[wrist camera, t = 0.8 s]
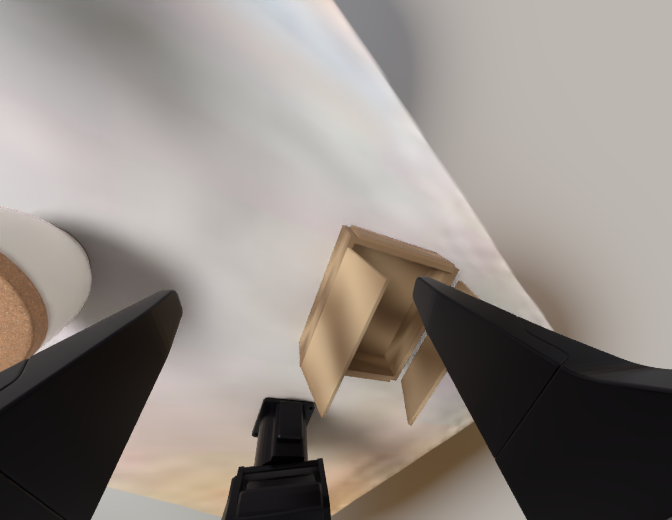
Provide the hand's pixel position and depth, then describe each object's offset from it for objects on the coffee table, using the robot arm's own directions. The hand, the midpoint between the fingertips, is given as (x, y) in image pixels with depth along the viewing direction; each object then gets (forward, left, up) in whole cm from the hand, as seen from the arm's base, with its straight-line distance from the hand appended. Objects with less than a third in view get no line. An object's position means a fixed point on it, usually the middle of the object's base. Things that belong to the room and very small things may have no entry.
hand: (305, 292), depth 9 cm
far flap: (-6, -14, -7) cm, 17 cm away
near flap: (-6, -5, -7) cm, 11 cm away
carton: (-6, -10, -13) cm, 18 cm away
